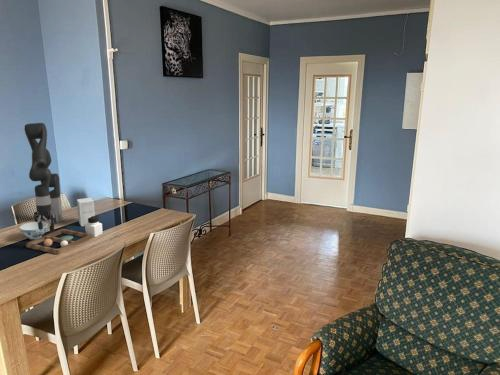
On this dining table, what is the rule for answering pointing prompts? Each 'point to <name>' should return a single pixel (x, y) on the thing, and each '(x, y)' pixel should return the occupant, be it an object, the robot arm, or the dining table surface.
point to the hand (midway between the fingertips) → (46, 230)
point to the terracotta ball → (48, 242)
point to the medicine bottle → (94, 226)
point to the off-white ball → (63, 243)
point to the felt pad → (67, 237)
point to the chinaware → (33, 230)
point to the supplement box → (85, 210)
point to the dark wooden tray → (59, 241)
